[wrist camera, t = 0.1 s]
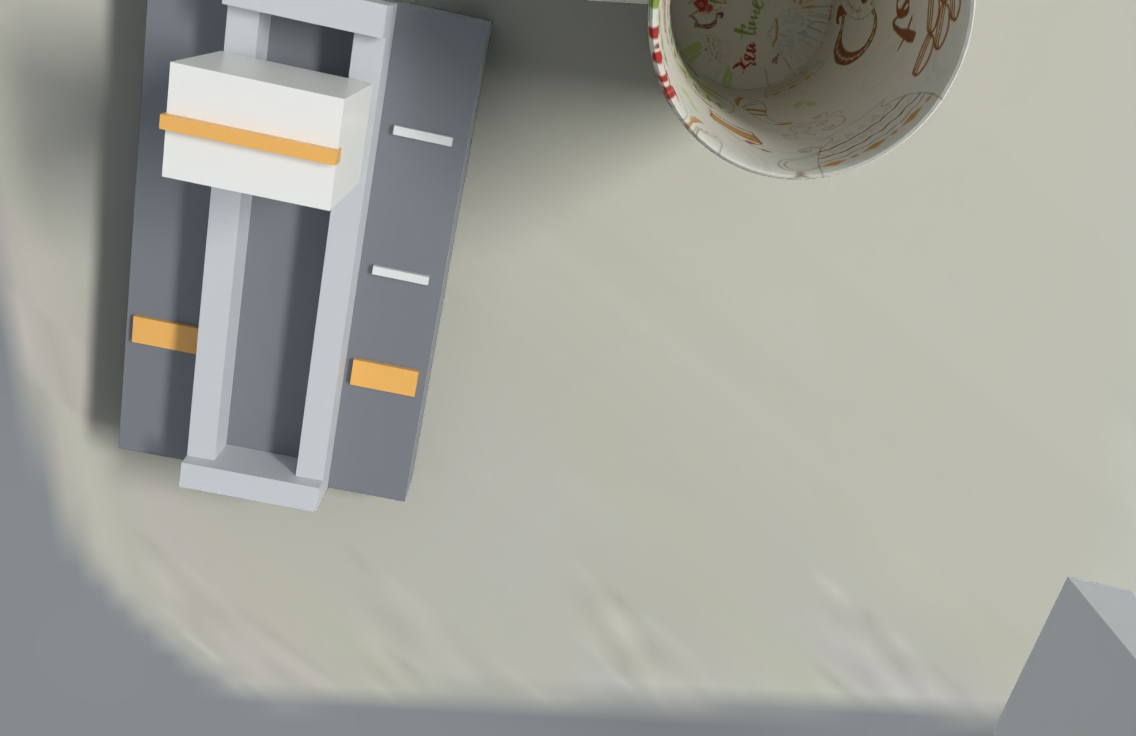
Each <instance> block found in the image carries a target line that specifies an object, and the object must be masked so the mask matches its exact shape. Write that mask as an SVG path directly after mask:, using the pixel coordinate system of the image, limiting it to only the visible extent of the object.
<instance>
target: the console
mask: <svg viewBox="0 0 1136 736" xmlns="http://www.w3.org/2000/svg"><path fill="white" fill-rule="evenodd" d="M491 27H492V21H489V20H484V19H480V18H475V17H471V16H466V15H462V14H457V13H453V12H448V11H444V10H439V9H435V8H430V7H426V6H421V5H417V4H412V3H408V2H403V1H399V0H148V1H147V16H146V32H145V47H144V63H143V78H142V94H141V109H140V125H139V140H138V156H137V171H136V186H135V202H134V217H133V233H132V248H131V264H130V279H129V295H128V310H127V326H126V341H125V357H124V372H123V387H122V403H121V418H120V434H119V448H123V449H128V450H134V451H139V452H144V453H150V454H155V455H160V456H165V457H171V458H176V459H181V460H183V461H182V462H181V472H180V483H179V487H184V488H189V489H195V490H200V491H206V492H211V493H216V494H222V495H227V496H232V497H238V498H243V499H248V500H254V501H259V502H265V503H270V504H275V505H281V506H286V507H291V508H297V509H302V510H307V511H313V512H316V510H317V508H318V506H319V504H320V502H321V500H322V498H323V496H324V493H325V491H326V489H327V487H330V488H335V489H341V490H346V491H351V492H357V493H362V494H367V495H373V496H378V497H383V498H389V499H394V500H399V501H405V498H406V495H407V492H408V489H409V486H410V483H411V479H412V475H413V469H414V463H415V458H416V452H417V446H418V441H419V435H420V429H421V424H422V418H423V412H424V407H425V401H426V395H427V390H428V384H429V378H430V373H431V367H432V361H433V356H434V350H435V344H436V339H437V333H438V327H439V322H440V316H441V310H442V305H443V299H444V293H445V288H446V282H447V276H448V271H449V265H450V259H451V254H452V248H453V242H454V237H455V231H456V225H457V220H458V214H459V208H460V203H461V197H462V191H463V186H464V180H465V174H466V169H467V163H468V157H469V152H470V146H471V140H472V135H473V129H474V123H475V118H476V112H477V106H478V101H479V95H480V89H481V84H482V78H483V72H484V67H485V61H486V55H487V50H488V44H489V38H490V33H491ZM218 51H225V52H229V53H234V54H239V55H243V56H248V57H252V58H257V59H262V60H266V61H271V62H276V63H280V64H285V65H290V66H294V67H299V68H303V69H308V70H313V71H317V72H322V73H327V74H331V75H336V76H341V77H345V78H350V79H354V80H359V81H364V82H368V83H373V88H372V95H371V102H370V109H369V117H368V124H367V131H366V138H365V145H364V152H363V159H362V166H361V173H360V180H359V183H358V184H357V185H356V186H355V187H354V188H353V189H352V190H351V191H350V192H349V193H348V194H347V195H346V196H345V197H344V198H343V199H342V200H341V201H340V202H339V203H338V204H337V205H336V206H335V207H334V208H332V209H331V210H330V211H327V210H322V209H318V208H313V207H308V206H303V205H298V204H293V203H288V202H284V201H279V200H274V199H269V198H264V197H259V196H255V195H250V194H245V193H240V192H235V191H230V190H226V189H221V188H216V187H211V186H206V185H201V184H197V183H192V182H187V181H182V180H177V179H172V178H168V177H163V176H162V168H163V154H164V141H165V130H163V129H159V122H160V114H162V113H165V112H167V100H168V86H169V73H170V62H172V61H176V60H181V59H185V58H190V57H195V56H199V55H204V54H208V53H213V52H218Z"/></svg>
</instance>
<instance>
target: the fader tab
mask: <svg viewBox="0 0 1136 736" xmlns="http://www.w3.org/2000/svg"><path fill="white" fill-rule="evenodd" d="M372 88H373V83H368V82H364V81H359V80H354V79H350V78H345V77H341V76H336V75H331V74H327V73H322V72H317V71H313V70H308V69H303V68H299V67H294V66H290V65H285V64H280V63H276V62H271V61H266V60H262V59H257V58H252V57H248V56H243V55H239V54H234V53H229V52H225V51H218V52H213V53H208V54H204V55H199V56H195V57H190V58H185V59H181V60H176V61H172V62H170V73H169V86H168V100H167V112H165V113H162V114H160V122H159V129H163V130H165V141H164V154H163V168H162V176H163V177H168V178H172V179H177V180H182V181H187V182H192V183H197V184H201V185H206V186H211V187H216V188H221V189H226V190H230V191H235V192H240V193H245V194H250V195H255V196H259V197H264V198H269V199H274V200H279V201H284V202H288V203H293V204H298V205H303V206H308V207H313V208H318V209H322V210H327V211H330V210H331V209H332V208H334V207H335V206H336V205H337V204H338V203H339V202H340V201H341V200H342V199H343V198H344V197H345V196H346V195H347V194H348V193H349V192H350V191H351V190H352V189H353V188H354V187H355V186H356V185H357V184H358V183H359V180H360V173H361V166H362V159H363V152H364V145H365V138H366V131H367V124H368V117H369V109H370V102H371V95H372Z"/></svg>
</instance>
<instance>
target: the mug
mask: <svg viewBox="0 0 1136 736" xmlns="http://www.w3.org/2000/svg"><path fill="white" fill-rule="evenodd" d="M589 1H604V2H620V3H636V4H649V6H648V37H649V46H650V52H651V57H652V62H653V66H654V69H655V73H656V76H657V79H658V82H659V84H660V86H661V89H662V91H663V93H664V95H665V98H666V99H667V101H668V103H669V105H670V107H671V108H672V110H673V111H674V113H675V114H676V116H677V117H678V119H679V120H680V121H681V122H682V124H683V125H684V126H685V127H686V129H687V130H688V131H689V132H690V133H691V134H692V135H693V136H694V137H695V138H696V139H697V140H698V141H699V142H700V143H701V144H702V145H704V146H705V147H706V148H707V149H709V150H710V151H711V152H713V153H714V154H716V155H717V156H719V157H720V158H722V159H723V160H725V161H727V162H729V163H731V164H733V165H735V166H737V167H739V168H742V169H744V170H747V171H749V172H752V173H756V174H759V175H763V176H768V177H773V178H778V179H791V180H807V179H818V178H825V177H831V176H835V175H839V174H843V173H847V172H849V171H852V170H855V169H858V168H860V167H863V166H865V165H867V164H869V163H871V162H873V161H876V160H877V159H879V158H881V157H883V156H884V155H886V154H888V153H889V152H891V151H892V150H894V149H895V148H896V147H898V146H899V145H901V144H902V143H903V142H905V141H906V140H907V139H908V138H909V137H910V136H912V135H913V134H914V133H915V132H916V131H917V130H918V129H919V128H920V127H921V126H922V125H923V124H924V123H925V122H926V121H927V120H928V119H929V117H930V116H931V115H932V114H933V112H934V111H935V110H936V109H937V108H938V106H939V105H940V103H941V102H942V100H943V99H944V97H945V96H946V95H947V93H948V91H949V89H950V88H951V86H952V84H953V82H954V81H955V78H956V76H957V74H958V72H959V70H960V68H961V65H962V63H963V60H964V57H965V54H966V52H967V49H968V45H969V41H970V37H971V33H972V28H973V22H974V16H975V2H976V0H589Z"/></svg>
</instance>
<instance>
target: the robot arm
mask: <svg viewBox="0 0 1136 736" xmlns="http://www.w3.org/2000/svg"><path fill="white" fill-rule="evenodd" d="M991 736H1136V597H1135V596H1134V595H1133V593H1132V592H1131V591H1129V590H1125V589H1120V588H1116V587H1112V586H1107V585H1103V584H1098V583H1094V582H1090V581H1085V580H1081V579H1076V578H1072V577H1067V579H1066V582H1065V584H1064V586H1063V588H1062V590H1061V592H1060V594H1059V596H1058V598H1057V600H1056V602H1055V604H1054V606H1053V608H1052V610H1051V612H1050V615H1049V617H1048V619H1047V621H1046V623H1045V625H1044V627H1043V629H1042V631H1041V633H1040V635H1039V637H1038V639H1037V641H1036V643H1035V645H1034V648H1033V650H1032V652H1031V654H1030V656H1029V658H1028V660H1027V662H1026V664H1025V666H1024V668H1023V670H1022V672H1021V674H1020V676H1019V678H1018V680H1017V683H1016V685H1015V687H1014V689H1013V691H1012V693H1011V695H1010V697H1009V699H1008V701H1007V703H1006V705H1005V707H1004V709H1003V711H1002V713H1001V716H1000V718H999V720H998V722H997V724H996V726H995V728H994V730H993V732H992V734H991Z"/></svg>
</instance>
